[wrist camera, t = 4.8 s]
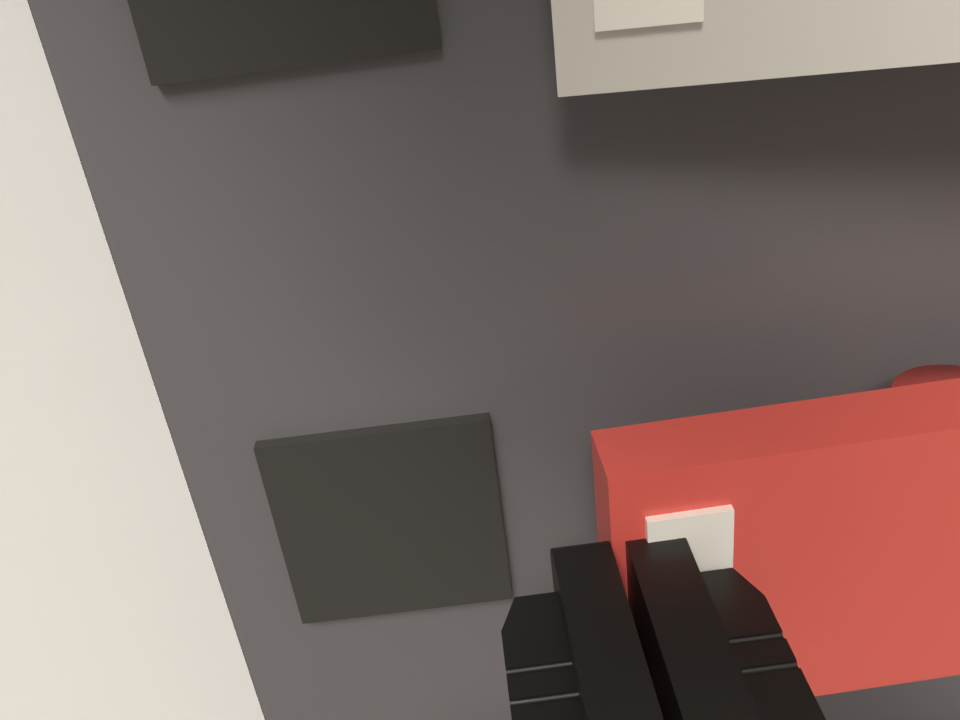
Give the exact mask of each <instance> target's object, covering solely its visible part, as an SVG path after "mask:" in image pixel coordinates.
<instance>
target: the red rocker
mask: <svg viewBox="0 0 960 720" xmlns="http://www.w3.org/2000/svg"><path fill="white" fill-rule="evenodd" d="M591 445H592V460H593V475H594V490H595V505H596V520H597V535H598V542H602V541H609V542H610V544H611V546H612V549H613V553H614V556H615V559H616V563H617V566H618V569H619V572H620V576H621V579H622V582H623V586H624V589H625V592H626V596H627V599H628V587H627V566H626V545H625V541H631V540H638V539H645V538H646V540H647V542H648V543H651V542H658V541H665V540H672V539H679V538H686V539H687V541H688V544H689V546H690V548H691V551H692V553H693V556H694V558H695V560H696V563H697V565H698V568H699V570H700V572H704V571H711V570H719V569H726V568H734V569H735V570H736V571H737V572H738V573H740V574H741V575H742V576H743V577H744V578H745V579H746V580H748V581H749V582H750V583H751V584H752V585H753V586H754V587H756V588H757V589H758V590H759V591H760V592H761V593H763V594H764V595H765V597H766V599H767V601H768V603H769V605H770V607H771V609H772V611H773V613H774V615H775V617H776V619H777V621H778V623H779V625H780V627H781V629H782V633H783V637H784V638H786V639H787V641H788V643H789V645H790V647H791V649H792V651H793V654H794V656H795V658H796V660H797V665H798V668H801V670H802V672H803V674H804V676H805V678H806V680H807V682H808V684H809V686H810V688H811V690H812V692H813V694H814V696H822V695H828V694H835V693H842V692H848V691H855V690H862V689H868V688H875V687H882V686H888V685H895V684H902V683H908V682H915V681H922V680H928V679H935V678H942V677H948V676H955V675H960V366H957V365H940V364H939V365H925V366H919V367H915V368H911V369H909V370H906V371H904V372H902V373H901V374H899V375H898V376H897V377H896V378H895V379H894V381H893V383H892V387H891V388H886V389H879V390H872V391H865V392H858V393H851V394H844V395H837V396H830V397H823V398H816V399H809V400H802V401H795V402H788V403H781V404H774V405H767V406H760V407H753V408H746V409H739V410H733V411H726V412H719V413H712V414H705V415H698V416H691V417H684V418H677V419H670V420H663V421H656V422H649V423H642V424H635V425H628V426H621V427H614V428H607V429H600V430H593V431H591Z"/></svg>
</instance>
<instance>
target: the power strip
mask: <svg viewBox="0 0 960 720" xmlns="http://www.w3.org/2000/svg"><path fill="white" fill-rule="evenodd" d="M27 1H28V4H29V7H30V10H31V13H32V16H33V19H34V22H35V25H36V28H37V31H38V34H39V37H40V40H41V43H42V46H43V49H44V52H45V55H46V58H47V61H48V64H49V67H50V71H51V74H52V77H53V80H54V83H55V86H56V89H57V92H58V95H59V98H60V101H61V104H62V107H63V110H64V113H65V116H66V119H67V122H68V125H69V128H70V131H71V134H72V137H73V140H74V143H75V146H76V149H77V152H78V155H79V158H80V161H81V164H82V167H83V170H84V173H85V176H86V179H87V182H88V186H89V189H90V192H91V195H92V198H93V201H94V204H95V207H96V210H97V213H98V216H99V219H100V222H101V225H102V228H103V231H104V234H105V237H106V240H107V243H108V246H109V249H110V252H111V255H112V258H113V261H114V264H115V267H116V270H117V273H118V276H119V279H120V282H121V285H122V288H123V291H124V294H125V298H126V301H127V304H128V307H129V310H130V313H131V316H132V319H133V322H134V325H135V328H136V331H137V334H138V337H139V340H140V343H141V346H142V349H143V352H144V355H145V358H146V361H147V364H148V367H149V370H150V373H151V376H152V379H153V382H154V385H155V388H156V391H157V394H158V397H159V400H160V403H161V406H162V410H163V413H164V416H165V419H166V422H167V425H168V428H169V431H170V434H171V437H172V440H173V443H174V446H175V449H176V452H177V455H178V458H179V461H180V464H181V467H182V470H183V473H184V476H185V479H186V482H187V485H188V488H189V491H190V494H191V497H192V500H193V503H194V506H195V509H196V512H197V515H198V518H199V522H200V525H201V528H202V531H203V534H204V537H205V540H206V543H207V546H208V549H209V552H210V555H211V558H212V561H213V564H214V567H215V570H216V573H217V576H218V579H219V582H220V585H221V588H222V591H223V594H224V597H225V600H226V603H227V606H228V609H229V612H230V615H231V618H232V621H233V624H234V627H235V630H236V633H237V637H238V640H239V643H240V646H241V649H242V652H243V655H244V658H245V661H246V664H247V667H248V670H249V673H250V676H251V679H252V682H253V685H254V688H255V691H256V694H257V697H258V700H259V703H260V706H261V709H262V712H263V715H264V718H265V720H512V718H511V710H510V701H509V693H508V685H507V676H506V668H505V660H504V651H503V643H502V635H501V630H502V628H503V625H504V623H505V620H506V618H507V615H508V613H509V610H510V607H511V605H512V602H513V600H514V597H520V596H527V595H535V594H542V593H549V592H554V587H553V577H552V567H551V556H550V549H551V548H558V547H565V546H572V545H580V544H587V543H595V542H598V535H597V520H596V505H595V490H594V475H593V460H592V445H591V431H593V430H600V429H607V428H614V427H621V426H628V425H635V424H642V423H649V422H656V421H663V420H670V419H677V418H684V417H691V416H698V415H705V414H712V413H719V412H726V411H733V410H739V409H746V408H753V407H760V406H767V405H774V404H781V403H788V402H795V401H802V400H809V399H816V398H823V397H830V396H837V395H844V394H851V393H858V392H865V391H872V390H879V389H886V388H891V387H892V383H893V381H894V379H895V378H896V377H897V376H898V375H899V374H901V373H902V372H904V371H906V370H909V369H911V368H915V367H919V366H925V365H939V364H940V365H957V366H960V62H957V63H945V64H934V65H922V66H911V67H899V68H888V69H876V70H865V71H853V72H842V73H830V74H819V75H807V76H796V77H784V78H773V79H761V80H750V81H739V82H727V83H716V84H704V85H693V86H681V87H670V88H658V89H647V90H635V91H624V92H612V93H601V94H589V95H578V96H566V97H558V93H557V79H556V65H555V51H554V38H553V24H552V10H551V0H27ZM815 698H816V700H817V702H818V704H819V706H820V708H821V710H822V712H823V714H824V716H825V718H826V720H960V675H955V676H948V677H942V678H935V679H928V680H922V681H915V682H908V683H902V684H895V685H888V686H882V687H875V688H868V689H862V690H855V691H848V692H842V693H835V694H828V695H822V696H815Z"/></svg>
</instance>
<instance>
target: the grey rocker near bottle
mask: <svg viewBox="0 0 960 720" xmlns="http://www.w3.org/2000/svg"><path fill="white" fill-rule="evenodd" d="M551 10H552V24H553V38H554V51H555V65H556V79H557V93H558V97H566V96H578V95H589V94H601V93H612V92H624V91H635V90H647V89H658V88H670V87H681V86H693V85H704V84H716V83H727V82H739V81H750V80H761V79H773V78H784V77H796V76H807V75H819V74H830V73H842V72H853V71H865V70H876V69H888V68H899V67H911V66H922V65H934V64H945V63H957V62H960V0H551Z"/></svg>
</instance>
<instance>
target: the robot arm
mask: <svg viewBox="0 0 960 720" xmlns="http://www.w3.org/2000/svg"><path fill="white" fill-rule="evenodd" d="M625 545H626V566H627V587H628V599H627V596H626V592H625V589H624V586H623V582H622V579H621V576H620V572H619V569H618V566H617V563H616V559H615V556H614V553H613V549H612V546H611V544H610V542H609V541H602V542H595V543H587V544H580V545H572V546H565V547H558V548H551V549H550V556H551V567H552V577H553V587H554V592H549V593H542V594H535V595H527V596H520V597H514V600H513V602H512V605H511V607H510V610H509V613H508V615H507V618H506V620H505V623H504V625H503V628H502V630H501V635H502V643H503V651H504V660H505V668H506V676H507V685H508V693H509V701H510V710H511V718H512V720H826V718H825V716H824V714H823V712H822V710H821V708H820V706H819V704H818V702H817V700H816V698H815V696H814V694H813V692H812V690H811V688H810V686H809V684H808V682H807V680H806V678H805V676H804V674H803V672H802V670H801V668H798V665H797V660H796V658H795V656H794V654H793V651H792V649H791V647H790V645H789V643H788V641H787V639H786V638H784V637H783V633H782V629H781V627H780V625H779V623H778V621H777V619H776V617H775V615H774V613H773V611H772V609H771V607H770V605H769V603H768V601H767V599H766V597H765V595H764V594H763V593H761V592H760V591H759V590H758V589H757V588H756V587H754V586H753V585H752V584H751V583H750V582H749V581H748V580H746V579H745V578H744V577H743V576H742V575H741V574H740V573H738V572H737V571H736V570H735V569H734V568H726V569H719V570H711V571H704V572H700V570H699V568H698V565H697V563H696V560H695V558H694V556H693V553H692V551H691V548H690V546H689V544H688V541H687V539H686V538H679V539H672V540H665V541H658V542H651V543H648V542H647V540H646V538H645V539H638V540H631V541H625Z"/></svg>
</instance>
